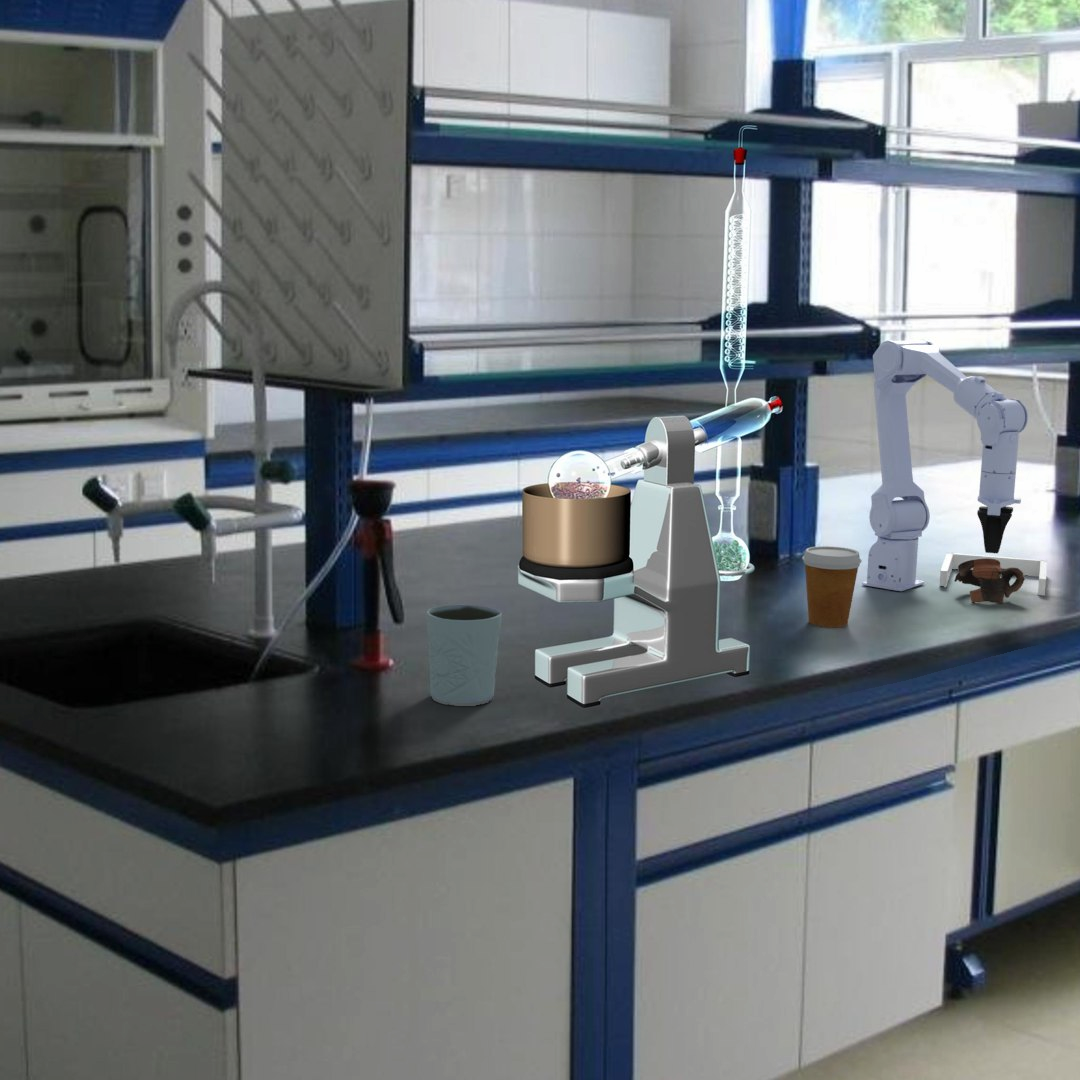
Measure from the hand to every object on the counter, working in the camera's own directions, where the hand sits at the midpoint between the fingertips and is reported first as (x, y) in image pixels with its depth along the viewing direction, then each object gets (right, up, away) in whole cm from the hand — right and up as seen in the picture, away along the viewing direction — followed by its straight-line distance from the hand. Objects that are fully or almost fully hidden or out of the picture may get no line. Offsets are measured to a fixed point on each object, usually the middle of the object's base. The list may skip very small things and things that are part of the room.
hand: (992, 550), depth 302 cm
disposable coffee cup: (-30, -12, -10) cm, 34 cm away
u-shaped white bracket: (+7, -6, +27) cm, 28 cm away
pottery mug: (+2, -9, +12) cm, 15 cm away
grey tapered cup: (-87, -20, -60) cm, 108 cm away
